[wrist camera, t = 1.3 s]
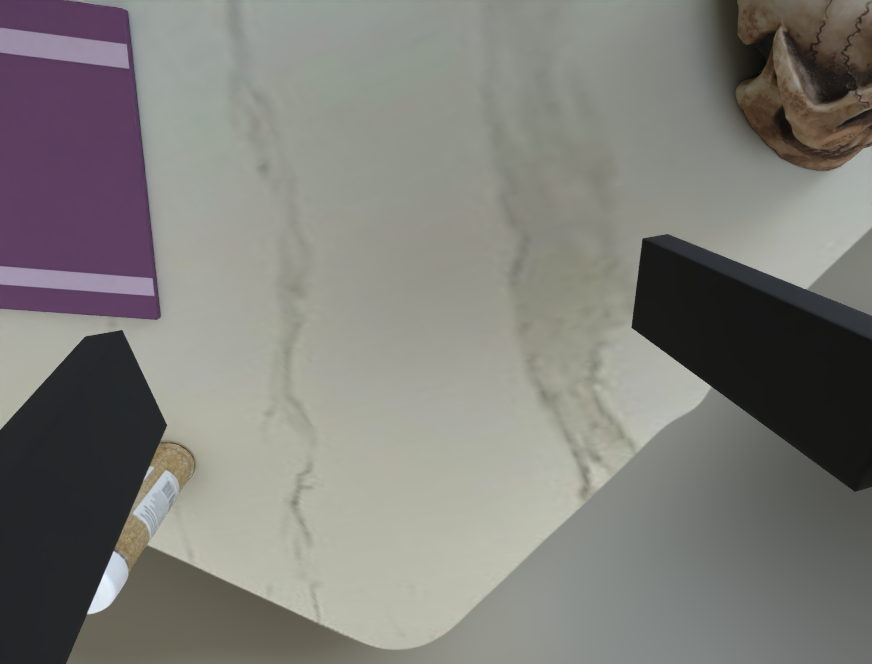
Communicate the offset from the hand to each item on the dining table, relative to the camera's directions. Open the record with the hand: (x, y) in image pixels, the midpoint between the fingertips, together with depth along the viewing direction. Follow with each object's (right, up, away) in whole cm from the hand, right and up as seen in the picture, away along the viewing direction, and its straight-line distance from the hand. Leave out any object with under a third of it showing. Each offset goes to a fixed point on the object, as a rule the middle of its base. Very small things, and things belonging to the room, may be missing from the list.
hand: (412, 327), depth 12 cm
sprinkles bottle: (-24, -12, +30) cm, 40 cm away
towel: (-29, +11, +21) cm, 37 cm away
